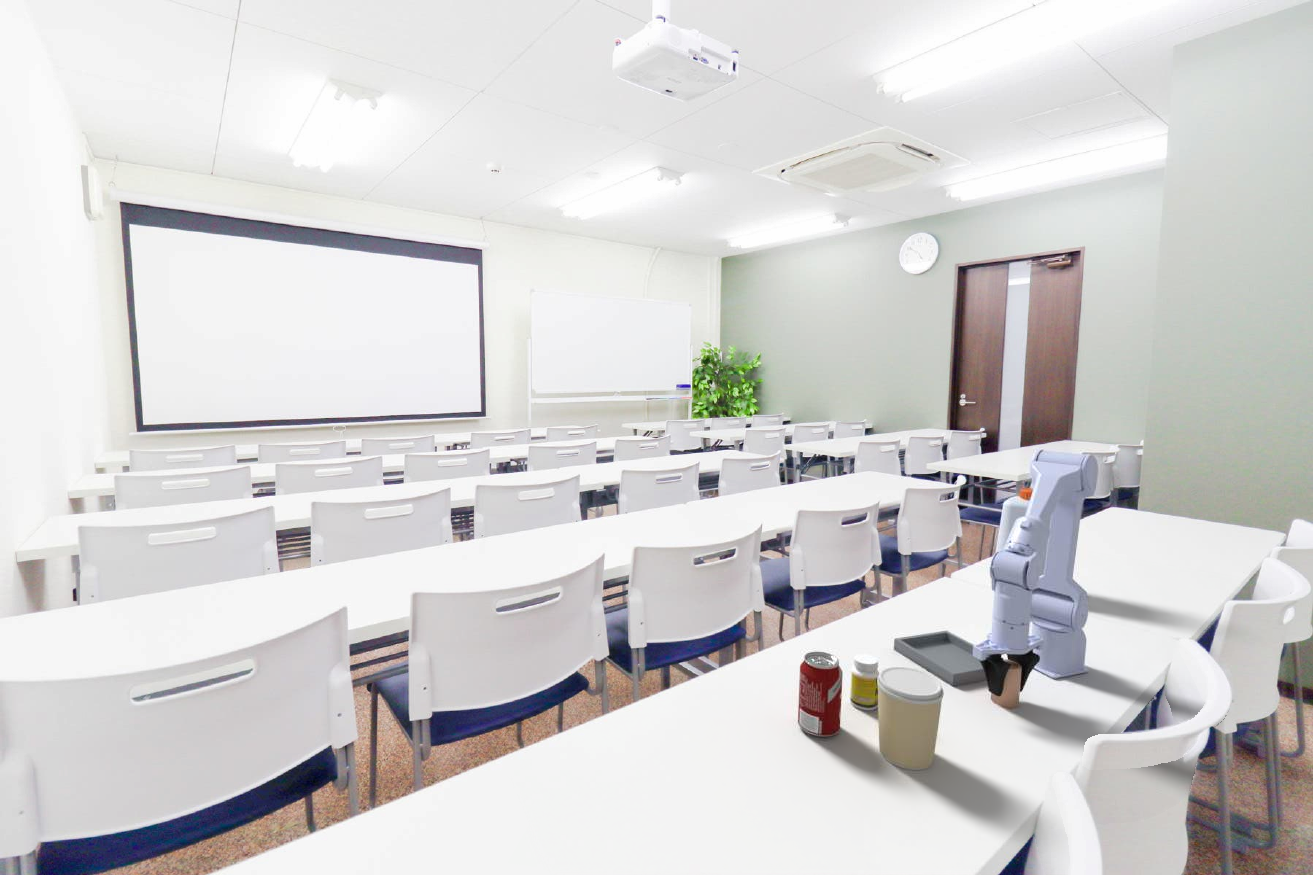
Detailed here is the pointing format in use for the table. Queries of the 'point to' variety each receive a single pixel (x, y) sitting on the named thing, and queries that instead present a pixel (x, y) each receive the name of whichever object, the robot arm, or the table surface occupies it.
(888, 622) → the table surface
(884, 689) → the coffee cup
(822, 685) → the soda can
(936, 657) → the tray
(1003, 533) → the plastic bottle
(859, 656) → the supplement bottle
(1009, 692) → the peach cylinder
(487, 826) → the table surface
